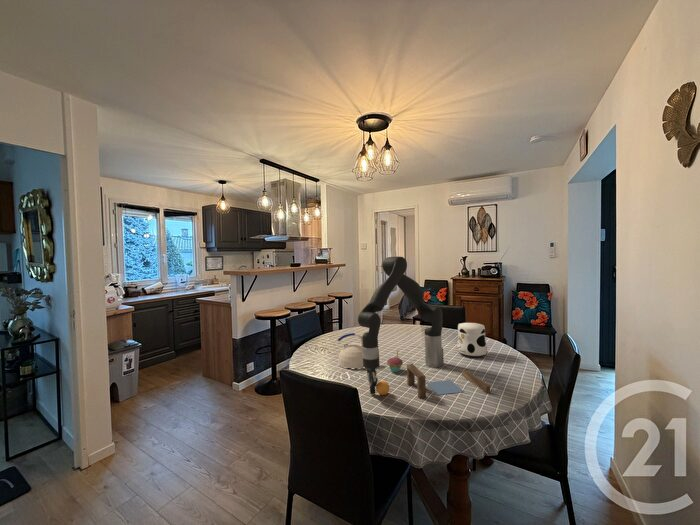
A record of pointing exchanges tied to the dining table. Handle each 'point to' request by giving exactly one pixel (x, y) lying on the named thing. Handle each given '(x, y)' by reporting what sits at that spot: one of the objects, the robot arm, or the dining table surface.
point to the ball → (382, 387)
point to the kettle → (351, 353)
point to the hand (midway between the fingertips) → (372, 393)
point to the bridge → (421, 379)
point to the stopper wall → (476, 381)
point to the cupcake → (395, 363)
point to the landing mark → (444, 387)
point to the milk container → (471, 339)
